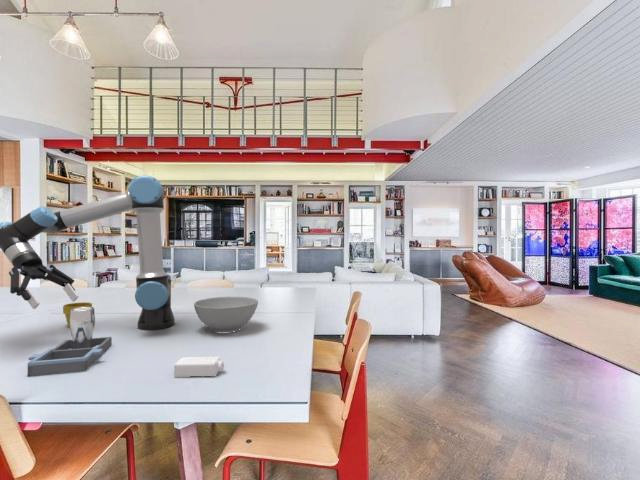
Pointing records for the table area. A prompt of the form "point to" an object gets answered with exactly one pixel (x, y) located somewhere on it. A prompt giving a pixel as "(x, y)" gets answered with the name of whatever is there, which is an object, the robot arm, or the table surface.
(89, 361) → the open frame
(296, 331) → the table surface
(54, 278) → the robot arm
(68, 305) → the yellow bowl
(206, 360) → the white bottle
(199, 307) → the decorative bowl
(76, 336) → the drinking glass
